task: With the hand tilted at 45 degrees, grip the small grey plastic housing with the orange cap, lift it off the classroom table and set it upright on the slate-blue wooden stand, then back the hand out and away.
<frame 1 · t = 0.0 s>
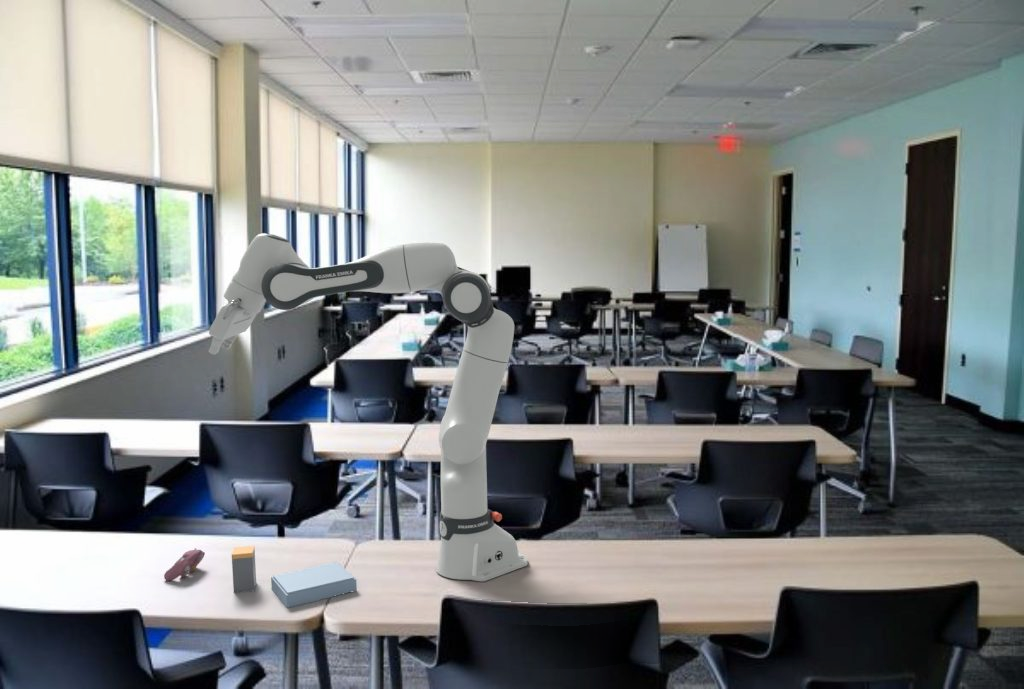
hand: (218, 350, 192), 54 cm above the table, tool tilted 30°, fingers open, 8 cm apart
housing: (245, 587, 192), on the table
stand: (313, 589, 190), on the table
video game controller: (186, 575, 201), on the table
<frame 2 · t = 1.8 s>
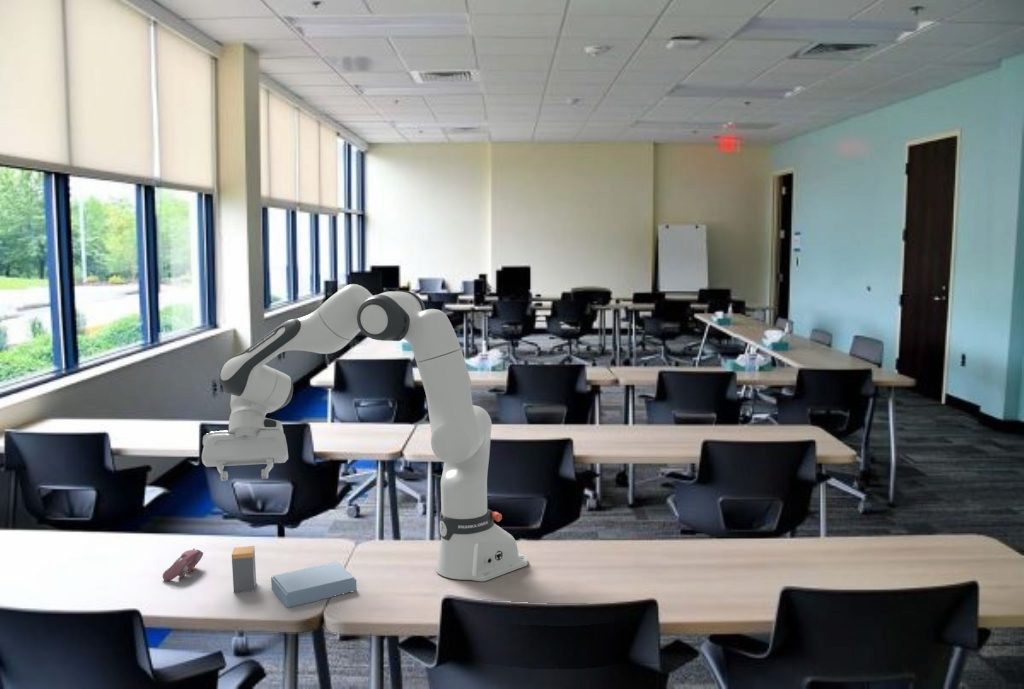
hand: (244, 478, 201), 22 cm above the table, tool tilted 45°, fingers open, 8 cm apart
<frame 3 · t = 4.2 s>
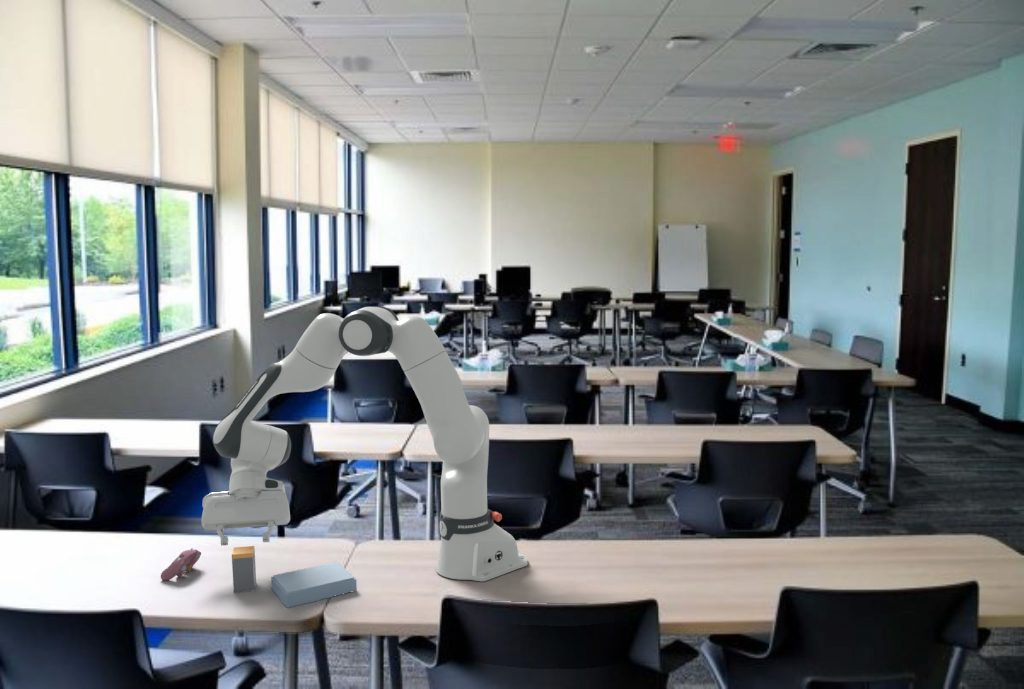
hand: (245, 542, 196), 9 cm above the table, tool tilted 45°, fingers open, 8 cm apart
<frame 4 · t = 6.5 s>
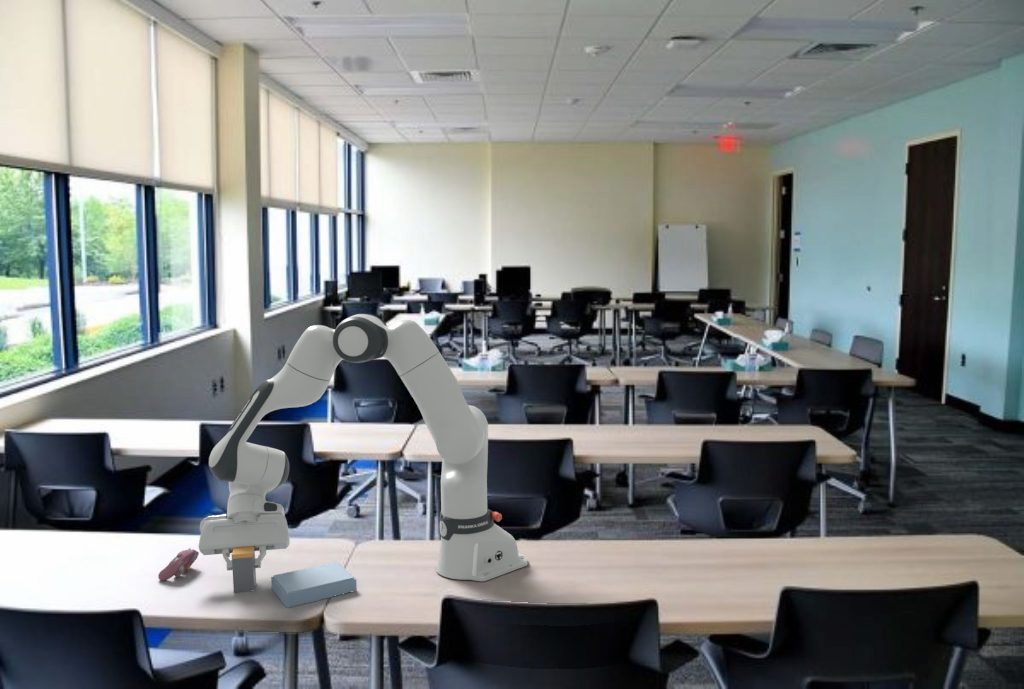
hand: (243, 568, 191), 5 cm above the table, tool tilted 45°, fingers closed on housing, 4 cm apart
housing: (245, 587, 192), on the table, touching gripper
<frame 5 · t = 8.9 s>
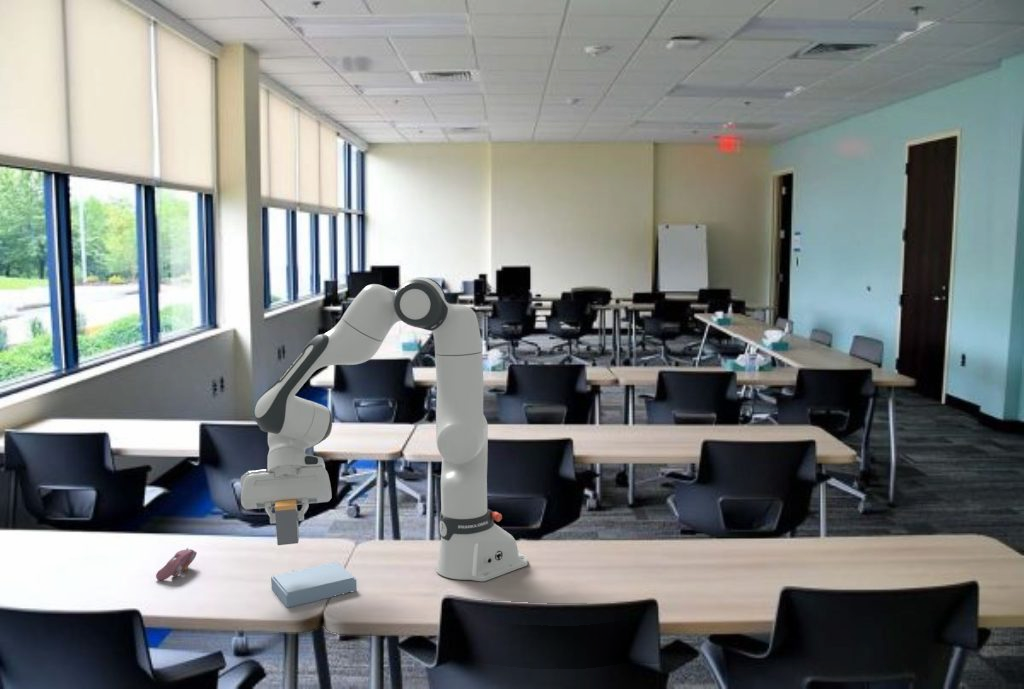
hand: (287, 521, 189), 16 cm above the table, tool tilted 45°, fingers closed on housing, 4 cm apart
housing: (288, 540, 190), point 11 cm above the table, touching gripper
when the fingers open (9 cm above the table, at t = 11.6 s): housing drops 1 cm, resting on stand.
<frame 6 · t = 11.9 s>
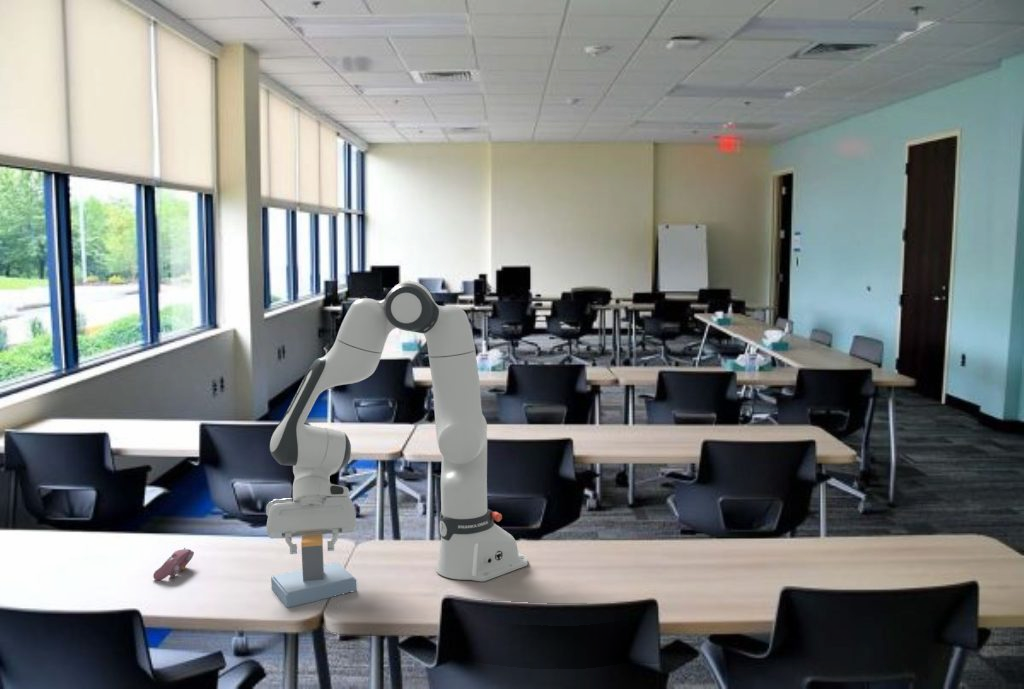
hand: (312, 551, 189), 9 cm above the table, tool tilted 45°, fingers open, 7 cm apart
housing: (313, 576, 190), point 3 cm above the table, touching stand
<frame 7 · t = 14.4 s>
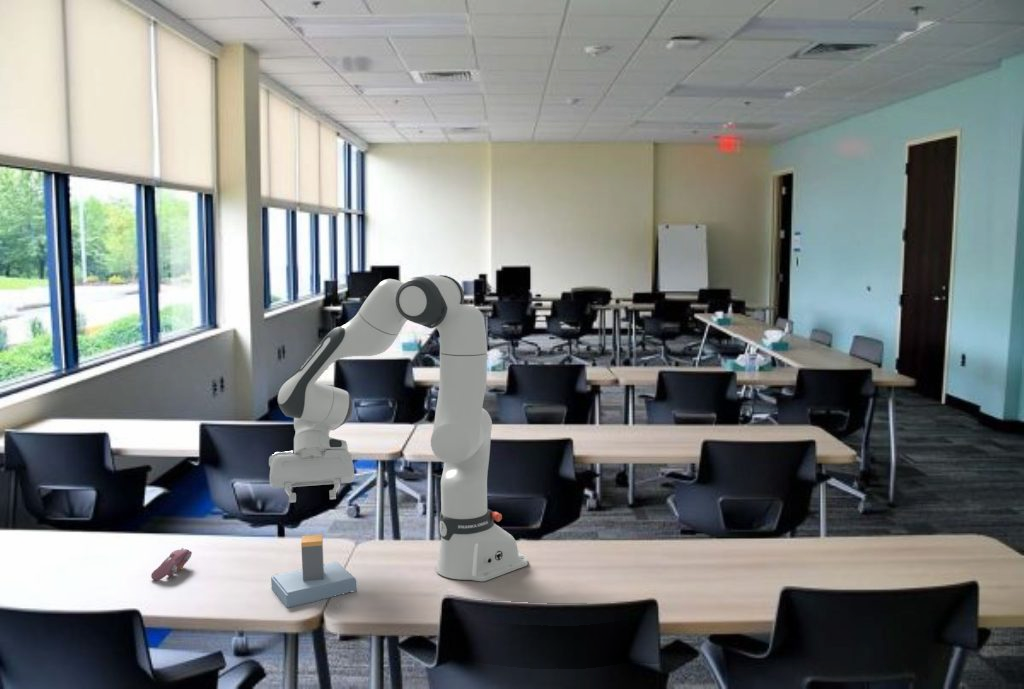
hand: (312, 499, 200), 17 cm above the table, tool tilted 45°, fingers open, 8 cm apart
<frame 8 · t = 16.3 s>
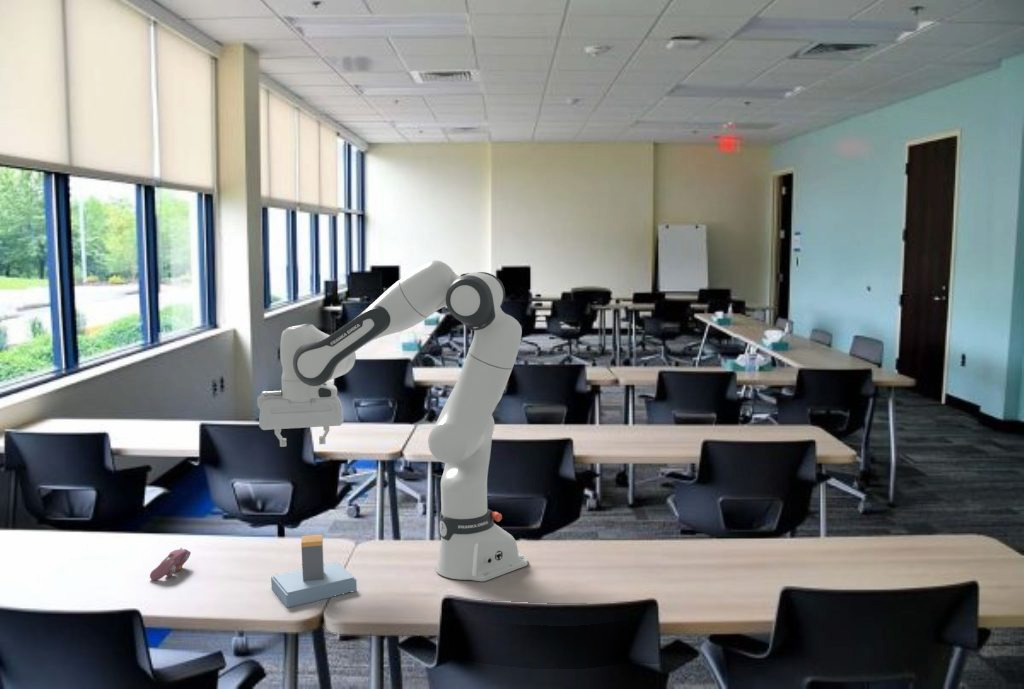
hand: (302, 444, 206), 29 cm above the table, tool pointing down, fingers open, 8 cm apart
at the end: housing inside the target area on the stand (0.0 cm from its centre), point 3.2 cm above the stand's base; housing tilted 0°; the gripper is holding nothing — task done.
